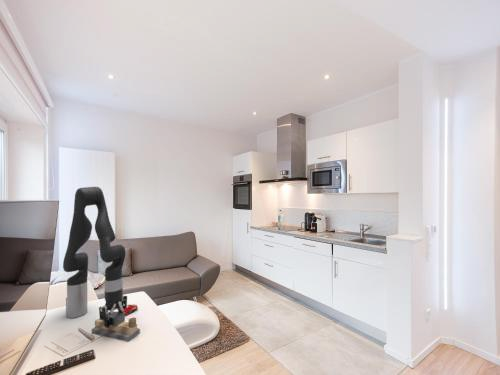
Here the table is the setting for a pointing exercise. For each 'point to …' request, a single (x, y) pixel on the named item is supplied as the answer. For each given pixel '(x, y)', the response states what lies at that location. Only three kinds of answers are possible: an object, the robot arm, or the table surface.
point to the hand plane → (117, 330)
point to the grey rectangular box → (116, 318)
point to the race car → (130, 309)
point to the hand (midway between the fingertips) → (114, 323)
